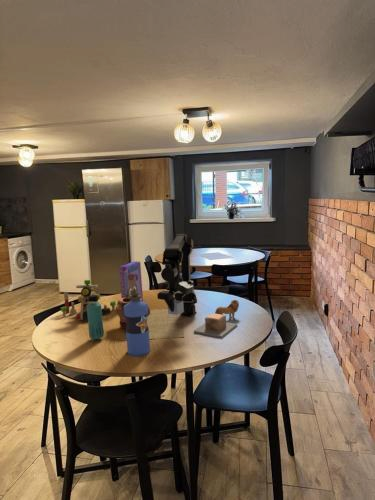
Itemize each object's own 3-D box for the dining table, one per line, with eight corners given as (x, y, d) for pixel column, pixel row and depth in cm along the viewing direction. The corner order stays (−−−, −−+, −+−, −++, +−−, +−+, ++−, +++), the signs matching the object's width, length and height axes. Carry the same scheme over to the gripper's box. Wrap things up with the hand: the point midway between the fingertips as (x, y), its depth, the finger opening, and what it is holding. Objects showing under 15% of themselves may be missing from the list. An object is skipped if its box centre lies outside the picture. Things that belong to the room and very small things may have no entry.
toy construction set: (50, 320, 180) (46, 282, 177) (76, 307, 201) (73, 273, 198) (95, 324, 172) (91, 283, 169) (117, 310, 193) (114, 274, 190)
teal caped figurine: (96, 343, 146) (92, 298, 144) (86, 340, 150) (81, 296, 147) (107, 338, 152) (104, 294, 149) (97, 335, 155) (93, 293, 153)
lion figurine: (235, 315, 174) (235, 298, 173) (241, 318, 169) (241, 300, 168) (210, 320, 168) (210, 302, 167) (216, 323, 163) (215, 305, 162)
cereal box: (129, 308, 195) (126, 266, 191) (122, 307, 196) (119, 266, 193) (142, 299, 211) (140, 261, 208) (135, 299, 212) (133, 261, 209)
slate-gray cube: (168, 313, 152) (167, 302, 151) (174, 310, 156) (174, 299, 156) (177, 315, 149) (177, 304, 149) (183, 311, 154) (183, 301, 153)
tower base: (193, 332, 153) (193, 319, 152) (210, 321, 166) (210, 309, 166) (221, 338, 146) (221, 324, 145) (237, 325, 159) (236, 312, 158)
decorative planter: (158, 324, 165) (156, 297, 164) (145, 334, 154) (143, 304, 153) (123, 320, 174) (121, 294, 172) (109, 329, 163) (106, 301, 161)
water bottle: (122, 353, 135) (117, 292, 132) (138, 344, 143) (133, 286, 140) (139, 358, 130) (135, 294, 127) (155, 349, 138) (151, 288, 134)
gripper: (177, 282, 139) (179, 319, 141) (200, 273, 154) (201, 306, 156) (155, 279, 144) (157, 315, 147) (179, 271, 160) (181, 303, 162)
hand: (175, 310), depth 153 cm, fingers closed on slate-gray cube, 5 cm apart
